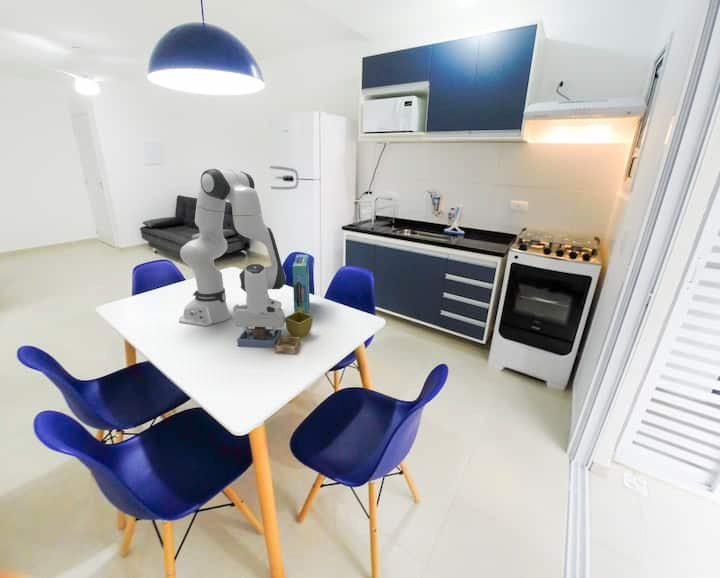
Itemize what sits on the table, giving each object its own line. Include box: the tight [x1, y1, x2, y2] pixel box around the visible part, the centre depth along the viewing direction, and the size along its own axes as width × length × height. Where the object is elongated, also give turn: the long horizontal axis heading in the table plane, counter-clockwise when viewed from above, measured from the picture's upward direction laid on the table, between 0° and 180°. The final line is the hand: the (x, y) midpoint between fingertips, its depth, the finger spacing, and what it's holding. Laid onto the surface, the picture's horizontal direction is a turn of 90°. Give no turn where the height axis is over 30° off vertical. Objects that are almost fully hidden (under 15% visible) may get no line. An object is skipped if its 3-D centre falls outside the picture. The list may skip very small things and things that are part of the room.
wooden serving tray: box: [274, 335, 302, 355], centre depth 132 cm, size 8×8×4 cm
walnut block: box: [253, 327, 267, 340], centre depth 137 cm, size 4×4×6 cm
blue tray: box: [236, 327, 283, 349], centre depth 137 cm, size 15×10×4 cm
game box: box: [292, 254, 310, 315], centre depth 164 cm, size 20×6×27 cm, turn 5°
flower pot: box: [285, 311, 314, 339], centre depth 143 cm, size 9×9×9 cm
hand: (261, 335), depth 137 cm, fingers open, 8 cm apart
